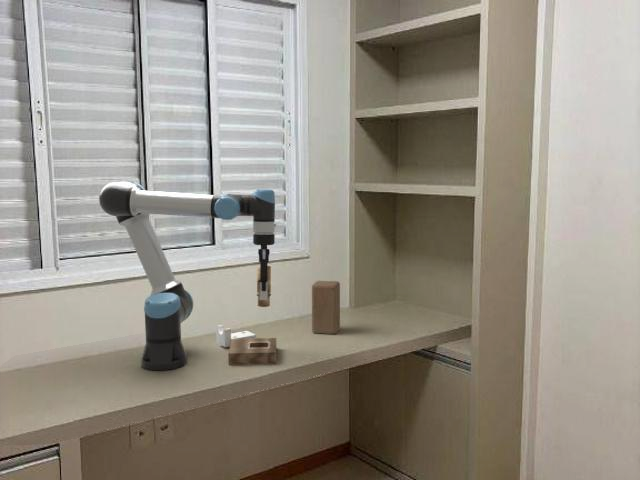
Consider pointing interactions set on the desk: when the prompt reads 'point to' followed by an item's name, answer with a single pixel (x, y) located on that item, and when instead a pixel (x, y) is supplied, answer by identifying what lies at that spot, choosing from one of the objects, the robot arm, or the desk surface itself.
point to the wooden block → (326, 307)
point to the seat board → (252, 351)
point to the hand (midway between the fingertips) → (263, 298)
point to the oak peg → (267, 302)
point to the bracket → (230, 336)
